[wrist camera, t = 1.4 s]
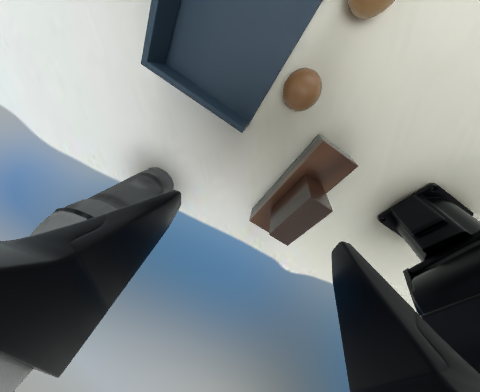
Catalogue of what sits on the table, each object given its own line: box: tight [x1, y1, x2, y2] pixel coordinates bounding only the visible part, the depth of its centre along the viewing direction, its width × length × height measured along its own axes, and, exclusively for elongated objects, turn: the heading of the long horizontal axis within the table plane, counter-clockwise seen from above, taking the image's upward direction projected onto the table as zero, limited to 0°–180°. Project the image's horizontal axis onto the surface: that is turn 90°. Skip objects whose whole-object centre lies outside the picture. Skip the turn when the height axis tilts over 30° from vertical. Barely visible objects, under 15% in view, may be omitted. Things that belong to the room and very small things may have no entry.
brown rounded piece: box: [283, 68, 322, 111], centre depth 15 cm, size 3×3×3 cm
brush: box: [250, 134, 358, 246], centre depth 19 cm, size 4×13×7 cm, turn 149°
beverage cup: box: [31, 168, 173, 236], centre depth 18 cm, size 7×7×20 cm
